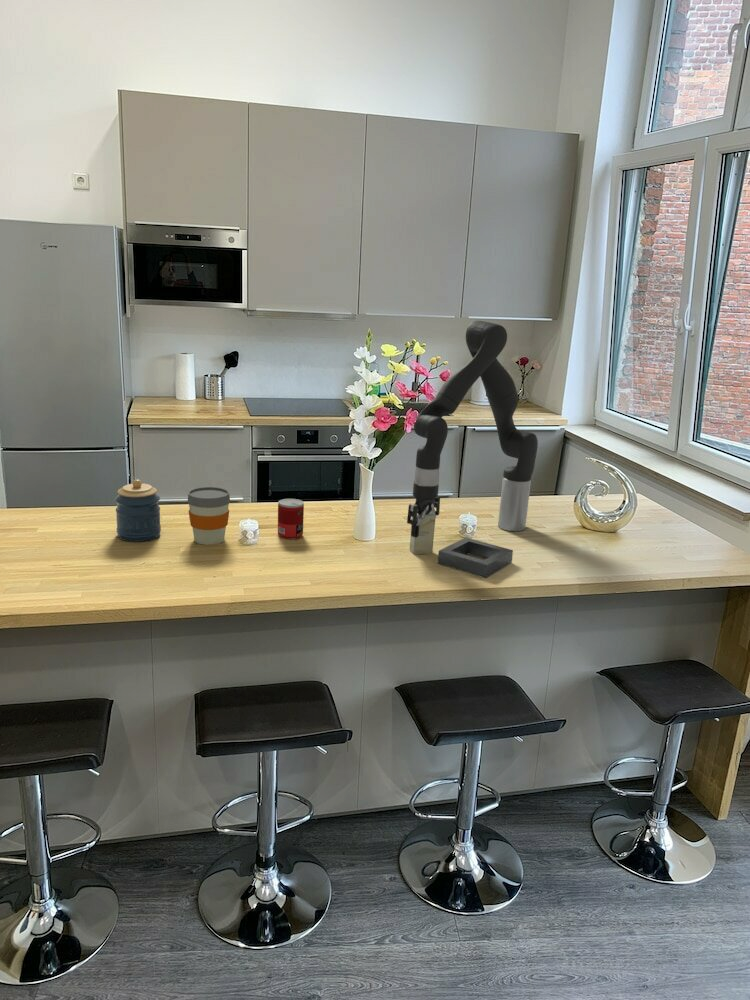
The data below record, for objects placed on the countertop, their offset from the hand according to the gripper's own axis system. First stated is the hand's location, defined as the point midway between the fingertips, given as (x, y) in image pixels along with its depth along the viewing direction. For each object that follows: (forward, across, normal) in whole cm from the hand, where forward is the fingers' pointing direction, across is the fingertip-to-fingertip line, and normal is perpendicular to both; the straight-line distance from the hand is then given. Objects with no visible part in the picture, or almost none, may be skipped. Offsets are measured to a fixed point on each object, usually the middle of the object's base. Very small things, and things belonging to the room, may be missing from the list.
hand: (422, 533), depth 235 cm
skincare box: (+6, 0, 0) cm, 6 cm away
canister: (+7, +49, -71) cm, 86 cm away
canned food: (+6, +17, -38) cm, 42 cm away
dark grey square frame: (+6, -3, +17) cm, 18 cm away
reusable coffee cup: (+6, +37, -53) cm, 65 cm away
